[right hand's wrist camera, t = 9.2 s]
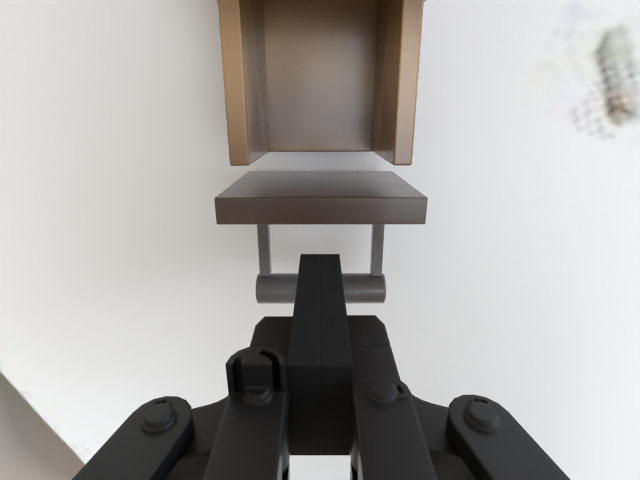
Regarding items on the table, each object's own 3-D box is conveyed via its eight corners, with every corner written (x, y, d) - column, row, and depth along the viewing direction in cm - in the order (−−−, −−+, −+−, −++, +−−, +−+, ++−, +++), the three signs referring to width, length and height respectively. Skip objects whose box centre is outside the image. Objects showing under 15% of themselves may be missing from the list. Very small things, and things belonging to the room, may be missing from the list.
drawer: (386, 275, 26) (415, 342, 18) (254, 275, 26) (227, 342, 18) (410, -134, 19) (472, -308, 11) (230, -134, 19) (168, -308, 11)
